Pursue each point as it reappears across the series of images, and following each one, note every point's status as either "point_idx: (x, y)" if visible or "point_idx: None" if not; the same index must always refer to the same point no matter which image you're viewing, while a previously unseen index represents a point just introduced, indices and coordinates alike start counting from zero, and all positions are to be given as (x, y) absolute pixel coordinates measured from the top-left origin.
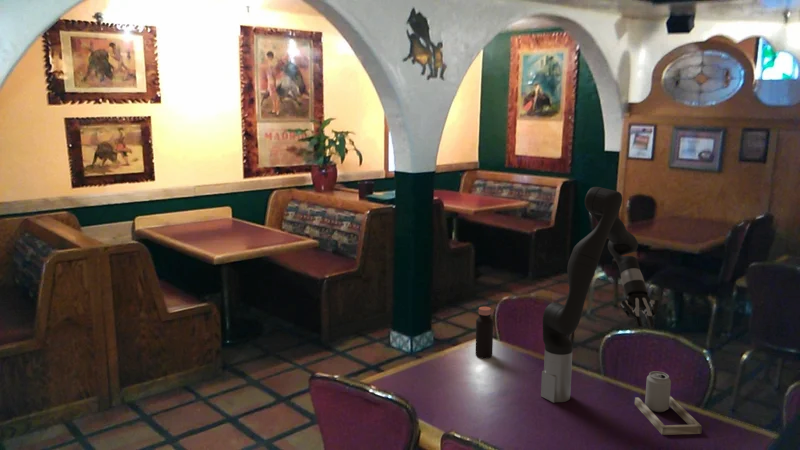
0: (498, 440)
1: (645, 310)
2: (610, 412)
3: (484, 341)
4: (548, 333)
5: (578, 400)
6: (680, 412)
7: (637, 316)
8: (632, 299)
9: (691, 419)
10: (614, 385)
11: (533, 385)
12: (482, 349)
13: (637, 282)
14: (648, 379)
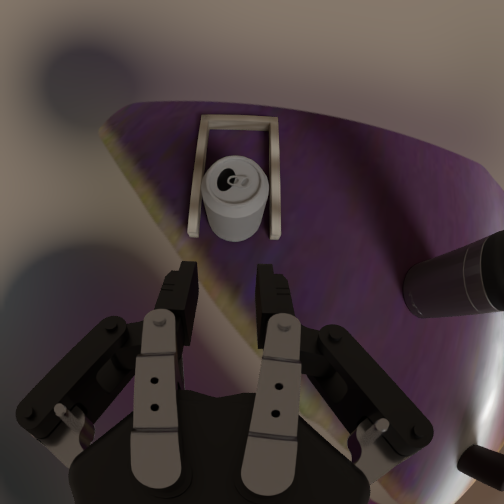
0: (481, 169)
1: (179, 376)
2: (343, 211)
3: (494, 452)
4: None
5: (390, 270)
6: (202, 174)
7: (285, 315)
8: (314, 489)
9: (205, 134)
10: None
11: (447, 342)
12: (485, 448)
13: None
14: (268, 185)
